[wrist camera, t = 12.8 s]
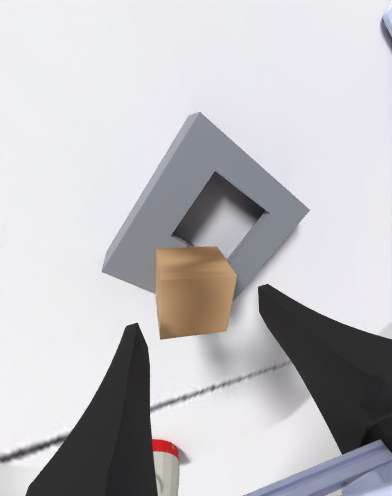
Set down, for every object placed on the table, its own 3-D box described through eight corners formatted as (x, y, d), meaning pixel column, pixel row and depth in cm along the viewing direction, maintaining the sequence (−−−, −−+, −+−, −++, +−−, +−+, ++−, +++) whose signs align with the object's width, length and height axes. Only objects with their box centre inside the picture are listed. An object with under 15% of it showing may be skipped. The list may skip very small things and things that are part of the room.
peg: (206, 231, 22) (237, 275, 15) (201, 276, 24) (226, 331, 17) (153, 232, 20) (160, 280, 14) (153, 279, 23) (160, 339, 16)
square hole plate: (286, 199, 22) (309, 210, 19) (208, 297, 25) (217, 319, 23) (188, 115, 17) (199, 111, 14) (106, 251, 20) (101, 271, 17)
